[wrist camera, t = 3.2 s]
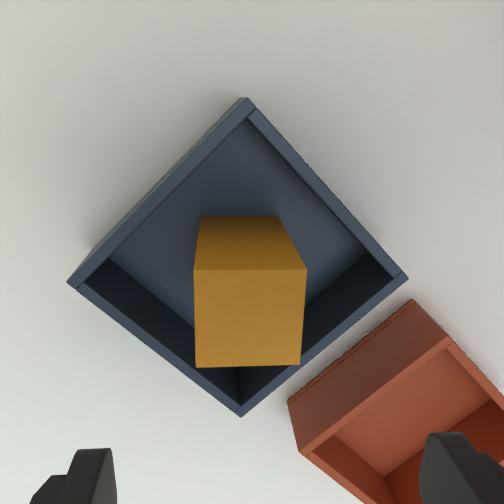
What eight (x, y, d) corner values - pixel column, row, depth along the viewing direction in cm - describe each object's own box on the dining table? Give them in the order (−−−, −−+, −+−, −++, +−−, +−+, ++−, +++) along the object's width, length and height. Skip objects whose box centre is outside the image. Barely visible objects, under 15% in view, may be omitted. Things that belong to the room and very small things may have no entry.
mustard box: (201, 287, 25) (195, 368, 18) (200, 215, 24) (193, 270, 16) (275, 286, 25) (300, 365, 18) (278, 216, 24) (307, 269, 16)
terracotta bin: (286, 401, 29) (298, 452, 25) (412, 298, 27) (448, 335, 23) (380, 479, 33) (404, 535, 28) (498, 393, 31) (544, 440, 26)
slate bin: (91, 250, 24) (65, 282, 20) (241, 97, 22) (247, 96, 18) (237, 370, 28) (241, 418, 24) (377, 249, 26) (409, 278, 21)
